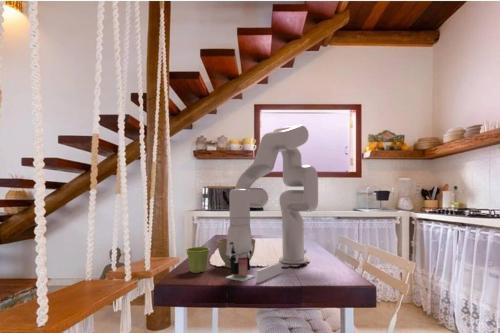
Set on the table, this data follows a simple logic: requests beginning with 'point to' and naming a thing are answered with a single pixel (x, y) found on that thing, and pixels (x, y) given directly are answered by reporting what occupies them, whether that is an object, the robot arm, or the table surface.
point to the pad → (240, 277)
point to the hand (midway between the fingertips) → (240, 271)
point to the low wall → (268, 272)
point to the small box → (242, 265)
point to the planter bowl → (223, 249)
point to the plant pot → (197, 258)
